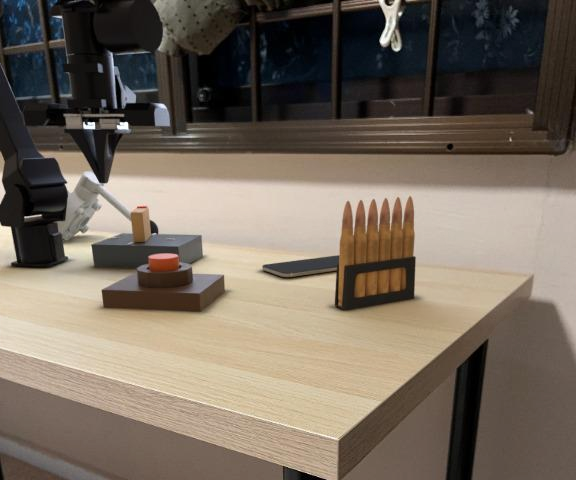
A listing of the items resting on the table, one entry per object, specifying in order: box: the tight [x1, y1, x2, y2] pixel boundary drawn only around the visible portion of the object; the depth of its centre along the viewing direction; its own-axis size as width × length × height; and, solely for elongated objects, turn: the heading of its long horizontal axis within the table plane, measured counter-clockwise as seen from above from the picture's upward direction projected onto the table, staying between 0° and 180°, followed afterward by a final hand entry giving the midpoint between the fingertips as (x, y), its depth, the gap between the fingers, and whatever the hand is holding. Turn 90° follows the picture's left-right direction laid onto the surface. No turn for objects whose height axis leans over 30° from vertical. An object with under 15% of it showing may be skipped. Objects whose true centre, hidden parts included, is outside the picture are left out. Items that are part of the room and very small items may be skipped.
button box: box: [101, 262, 226, 313], centre depth 75 cm, size 12×10×4 cm
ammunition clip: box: [334, 195, 417, 311], centre depth 71 cm, size 11×2×12 cm, turn 120°
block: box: [130, 205, 151, 242], centre depth 96 cm, size 6×2×5 cm, turn 4°
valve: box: [57, 170, 159, 242], centre depth 117 cm, size 10×20×15 cm
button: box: [148, 253, 179, 271], centre depth 74 cm, size 4×4×2 cm
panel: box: [91, 232, 204, 269], centre depth 97 cm, size 14×11×4 cm
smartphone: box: [261, 254, 339, 278], centre depth 91 cm, size 7×1×15 cm
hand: (103, 183), depth 85 cm, fingers closed
